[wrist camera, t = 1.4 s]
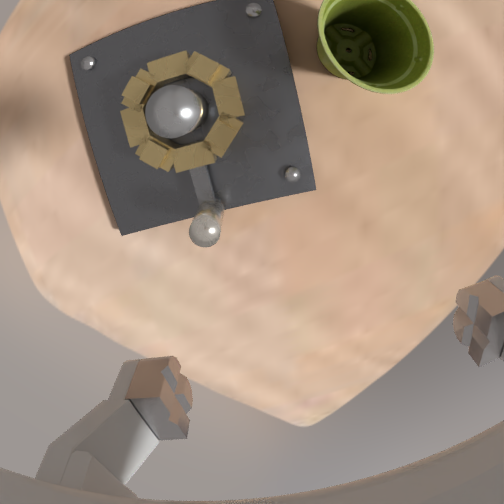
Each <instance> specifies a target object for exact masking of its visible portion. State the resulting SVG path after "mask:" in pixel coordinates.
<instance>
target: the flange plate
mask: <svg viewBox="0 0 504 504" xmlns="http://www.w3.org/2000/svg"><path fill="white" fill-rule="evenodd" d="M182 51H187V52H188V53H189V54H190V55H192V54H193V52H194V51H195V52H197V53H199V54H202V55H204V56H206V57H207V58H209V59H211V60H213V61H215V62H217V63H219V64H221V65H222V66H224V67H226V68H228V69H230V71H231V75H230V76H229V77H233V76H235V77H236V81H237V85H238V89H239V93H240V97H241V101H242V105H243V109H244V114H245V115H243V116H239V117H236V118H237V119H239V120H241V121H242V122H243V125H242V126H241V128H240V129H239V131H238V132H237V134H236V136H235V137H234V139H233V140H232V142H231V143H230V145H229V147H228V148H227V150H226V152H225V153H224V155H223V156H222V158H221V157H219V156H217V160H216V162H215V163H212V164H208V165H207V169H208V172H209V176H210V180H211V184H212V187H213V191H214V195H215V198H216V199H217V200H219V201H220V202H221V203H222V204H223V207H224V210H226V209H230V208H234V207H239V206H243V205H247V204H252V203H256V202H261V201H265V200H270V199H275V198H279V197H284V196H289V195H293V194H298V193H303V192H308V191H313V190H316V186H315V180H314V174H313V169H312V163H311V158H310V152H309V147H308V142H307V137H306V132H305V127H304V122H303V118H302V113H301V108H300V104H299V99H298V95H297V90H296V86H295V82H294V77H293V73H292V69H291V65H290V61H289V57H288V53H287V49H286V45H285V41H284V38H283V34H282V30H281V26H280V23H279V19H278V16H277V12H276V8H275V5H274V2H273V0H216V1H212V2H208V3H204V4H200V5H196V6H192V7H189V8H185V9H182V10H178V11H175V12H172V13H169V14H166V15H163V16H160V17H157V18H154V19H151V20H148V21H145V22H143V23H140V24H137V25H135V26H132V27H129V28H127V29H124V30H122V31H120V32H117V33H115V34H112V35H110V36H108V37H106V38H103V39H101V40H99V41H97V42H95V43H92V44H90V45H88V46H86V47H84V48H82V49H80V50H78V51H76V52H74V53H72V54H70V61H71V66H72V70H73V75H74V80H75V84H76V89H77V93H78V97H79V101H80V105H81V109H82V113H83V117H84V121H85V125H86V128H87V132H88V136H89V139H90V143H91V146H92V150H93V153H94V156H95V160H96V163H97V166H98V169H99V172H100V176H101V179H102V182H103V185H104V188H105V191H106V194H107V197H108V200H109V202H110V205H111V208H112V211H113V214H114V217H115V219H116V222H117V225H118V227H119V230H120V233H121V235H122V236H123V235H127V234H130V233H134V232H138V231H141V230H145V229H149V228H153V227H157V226H161V225H164V224H168V223H172V222H176V221H180V220H184V219H188V218H192V217H194V216H195V214H196V212H197V210H198V207H199V202H198V199H197V195H196V192H195V188H194V185H193V181H192V178H191V174H190V171H189V170H185V171H182V172H178V173H176V171H175V167H174V168H172V169H171V170H170V171H169V172H167V171H165V170H164V169H162V168H158V169H156V168H154V167H152V166H150V165H149V164H147V163H145V162H143V161H141V160H140V159H139V158H140V156H138V155H136V154H135V153H136V151H137V149H138V147H139V145H137V146H134V147H131V148H130V145H129V142H128V138H127V134H126V131H125V127H124V124H123V120H122V116H121V112H120V111H122V110H124V109H127V108H129V107H127V106H125V105H123V104H121V103H122V101H123V99H124V96H122V93H123V91H124V89H125V88H126V86H127V84H128V82H129V80H130V79H131V77H132V76H135V77H136V75H137V73H138V72H139V70H140V68H141V69H144V70H147V71H149V70H148V66H147V63H149V62H151V61H154V60H157V59H160V58H163V57H166V56H169V55H172V54H176V53H179V52H182ZM145 117H146V121H147V124H148V126H149V127H150V129H151V130H152V131H153V132H154V133H156V134H157V135H159V136H161V137H164V138H167V139H169V140H171V141H173V142H175V143H176V144H178V145H180V146H182V145H185V144H189V143H192V142H196V141H200V140H204V139H205V138H206V136H207V135H208V133H209V131H210V130H211V128H212V126H213V125H214V123H215V122H216V120H217V118H218V117H219V113H218V109H217V105H216V101H215V97H214V93H213V89H212V87H210V86H208V85H206V84H204V83H203V82H201V81H199V80H197V79H195V78H193V77H187V78H184V79H180V80H177V81H174V82H171V83H168V84H164V86H163V87H162V88H160V89H158V90H157V91H156V92H155V93H153V94H152V96H151V97H150V98H149V100H148V102H147V105H146V109H145Z"/></svg>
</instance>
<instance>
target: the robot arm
mask: <svg viewBox="0 0 504 504" xmlns="http://www.w3.org/2000/svg"><path fill="white" fill-rule="evenodd" d="M456 303H457V305H458V306H459V307H458V309H457V311H456V312H455V314H454V319H453V327H454V333H455V335H456V337H457V339H458V340H459V342H460V343H461V344H463V345H465V346H468V347H469V351H468V353H469V355H470V356H471V357H472V359H473V360H474V361H475V363H476V364H477V365H478V367H480V366H482V365H485V364H487V363H490V362H492V361H494V360H496V359H498V358H500V359H501V360H503V361H504V279H503V278H502V277H501V276H494V277H491V278H488V279H486V280H484V281H482V282H479V283H476V284H474V285H471V286H468V287H465V288H462V289H460V290H459V291H458V293H457V296H456ZM180 369H181V365H180V363H179V361H178V360H177V358H176V357H174V356H167V357H158V358H147V359H141V360H128V361H126V362H124V363H123V365H122V367H121V370H120V372H119V374H118V377H117V379H116V382H115V384H114V386H113V389H112V391H111V393H110V396H109V398H108V400H103V401H102V402H101V403H100V404H98V405H97V406H96V407H95V408H94V409H93V410H91V411H90V412H89V413H88V414H86V415H85V416H84V417H83V418H82V419H80V420H79V421H78V422H77V423H75V424H74V425H73V426H72V427H71V428H70V429H69V430H67V431H66V432H65V433H64V434H62V435H61V436H60V437H58V438H57V439H56V440H55V441H54V442H52V443H51V444H50V445H49V446H48V449H47V451H46V453H45V456H44V458H43V460H42V463H41V465H40V467H39V470H38V472H37V475H36V477H35V479H34V478H31V477H27V476H24V475H21V474H18V473H15V472H12V471H9V470H6V469H3V468H0V504H504V421H502V422H500V423H498V424H496V425H495V426H493V427H491V428H489V429H487V430H485V431H483V432H482V433H480V434H478V435H476V436H474V437H472V438H470V439H468V440H466V441H463V442H461V443H459V444H457V445H455V446H453V447H451V448H448V449H446V450H444V451H441V452H439V453H437V454H434V455H432V456H429V457H427V458H424V459H422V460H419V461H416V462H414V463H411V464H408V465H405V466H402V467H399V468H397V469H394V470H390V471H387V472H384V473H381V474H378V475H375V476H371V477H367V478H364V479H360V480H357V481H353V482H349V483H345V484H340V485H336V486H332V487H327V488H322V489H317V490H312V491H307V492H300V493H294V494H288V495H281V496H274V497H264V498H255V499H244V500H243V499H242V500H225V501H168V500H152V499H140V498H138V497H137V495H136V494H135V493H133V492H132V491H131V490H130V489H129V488H127V487H126V486H125V484H126V483H127V482H128V480H129V479H130V478H131V477H132V475H133V474H134V473H135V472H136V470H137V469H138V468H139V467H140V466H141V464H142V463H143V462H144V461H145V459H146V458H147V457H148V455H149V454H150V453H151V452H152V451H153V449H154V448H155V447H156V446H157V444H158V443H159V440H173V439H187V435H188V428H189V422H190V420H189V418H188V416H187V415H186V414H187V412H188V411H189V410H190V409H191V408H192V402H193V398H192V390H191V386H190V383H189V381H188V379H187V377H185V376H184V375H182V374H181V373H180Z"/></svg>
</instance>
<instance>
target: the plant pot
mask: <svg viewBox="0 0 504 504" xmlns="http://www.w3.org/2000/svg"><path fill="white" fill-rule="evenodd" d="M317 26H318V33H319V37H318V41H317V53H318V56H319V59H320V61H321V63H322V64H323V65H324V66H325V68H326V69H327V70H328V71H330V72H331V73H332V74H333V75H335V76H337V77H339V78H342V79H347V80H349V81H351V82H352V83H354V84H356V85H357V86H359V87H361V88H363V89H366V90H369V91H372V92H376V93H383V94H395V93H401V92H405V91H407V90H410V89H412V88H414V87H415V86H417V85H418V84H419V83H420V82H421V81H422V80H423V79H424V78H425V77H426V75H427V74H428V72H429V70H430V68H431V65H432V61H433V55H434V46H433V38H432V34H431V31H430V29H429V26H428V24H427V21H426V19H425V18H424V16H423V15H422V13H421V12H420V10H419V9H418V8H417V7H416V5H415V4H414V3H413V2H412V1H411V0H323V2H322V4H321V7H320V10H319V13H318V21H317ZM341 28H351V29H353V30H354V32H350V31H345V30H341ZM347 48H350V49H351V52H350V53H349V52H347V51H346V49H347ZM369 48H370V50H371V52H372V59H371V60H370V61H369V60H368V56H369ZM346 71H347V72H346ZM348 72H354V74H353V75H350V74H349V73H348Z"/></svg>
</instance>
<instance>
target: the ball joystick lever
mask: <svg viewBox="0 0 504 504" xmlns="http://www.w3.org/2000/svg"><path fill="white" fill-rule="evenodd" d="M147 66H148V70H149V71H147V70H144V69H141V68H140V70H139V72H138V73H137V75H136V77H135V76H132V77H131V79H130V80H129V82H128V84H127V86H126V88H125V89H124V91H123V93H122V96H124V99H123V101H122V103H121V104H123V105H125V106H127V107H129V108H127V109H124V110H122V111H120V112H121V116H122V120H123V124H124V127H125V131H126V134H127V138H128V142H129V145H130V148H131V147H134V146H137V145H139V147H138V149H137V151H136V153H135V154H136V155H138V156H140V158H139V159H140V160H141V161H143V162H145V163H147V164H149V165H150V166H152V167H154V168H156V169H158V168H162V169H164V170H165V171H167V172H169V171H170V170H171V169H172V168H174V167H175V171H176V173H178V172H182V171H185V170H189V171H190V174H191V178H192V181H193V185H194V188H195V192H196V195H197V199H198V202H199V207H198V210H197V212H196V214H195V216H194V219H193V221H192V223H191V226H190V228H189V236H190V238H191V240H192V241H193V243H195V244H196V245H198V246H200V247H210V246H212V245H214V244H215V243H216V242H217V241H218V239H219V237H220V232H221V226H222V221H223V215H224V207H223V204H222V203H221V202H220V201H219V200H217V199H216V198H215V195H214V191H213V187H212V184H211V180H210V176H209V172H208V169H207V165H208V164H212V163H215V162H216V160H217V156H219V157H221V158H222V156H223V155H224V153H225V152H226V150H227V148H228V147H229V145H230V143H231V142H232V140H233V139H234V137H235V136H236V134H237V132H238V131H239V129H240V128H241V126H242V125H243V122H242V121H241V120H239V119H237V118H236V117H239V116H243V115H245V114H244V109H243V105H242V101H241V97H240V93H239V89H238V85H237V81H236V77H235V76H233V77H229V76H230V75H231V71H230V69H228V68H226V67H224V66H222V65H221V64H219V63H217V62H215V61H213V60H211V59H209V58H207V57H206V56H204V55H202V54H199V53H197V52H195V51H194V52H193V54H192V55H190V54H189V53H188V52H187V51H182V52H179V53H176V54H172V55H169V56H166V57H163V58H160V59H157V60H154V61H151V62H149V63H147ZM187 77H193V78H195V79H197V80H199V81H201V82H203V83H204V84H206V85H208V86H210V87H212V89H213V93H214V97H215V101H216V105H217V109H218V113H219V117H218V118H217V120H216V122H215V123H214V125H213V126H212V128H211V130H210V131H209V133H208V135H207V136H206V138H205V139H204V140H200V141H196V142H192V143H189V144H185V145H182V146H180V145H178V144H176V143H175V142H173V141H171V140H169V139H167V138H164V137H161V136H159V135H157V134H156V133H154V132H153V131H152V130H151V129H150V127H149V126H148V124H147V121H146V117H145V109H146V105H147V102H148V100H149V98H150V97H151V96H152V94H153V93H155V92H156V91H157V90H158V89H160V88H162V87H163V86H164V84H168V83H171V82H174V81H177V80H180V79H184V78H187Z"/></svg>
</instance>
